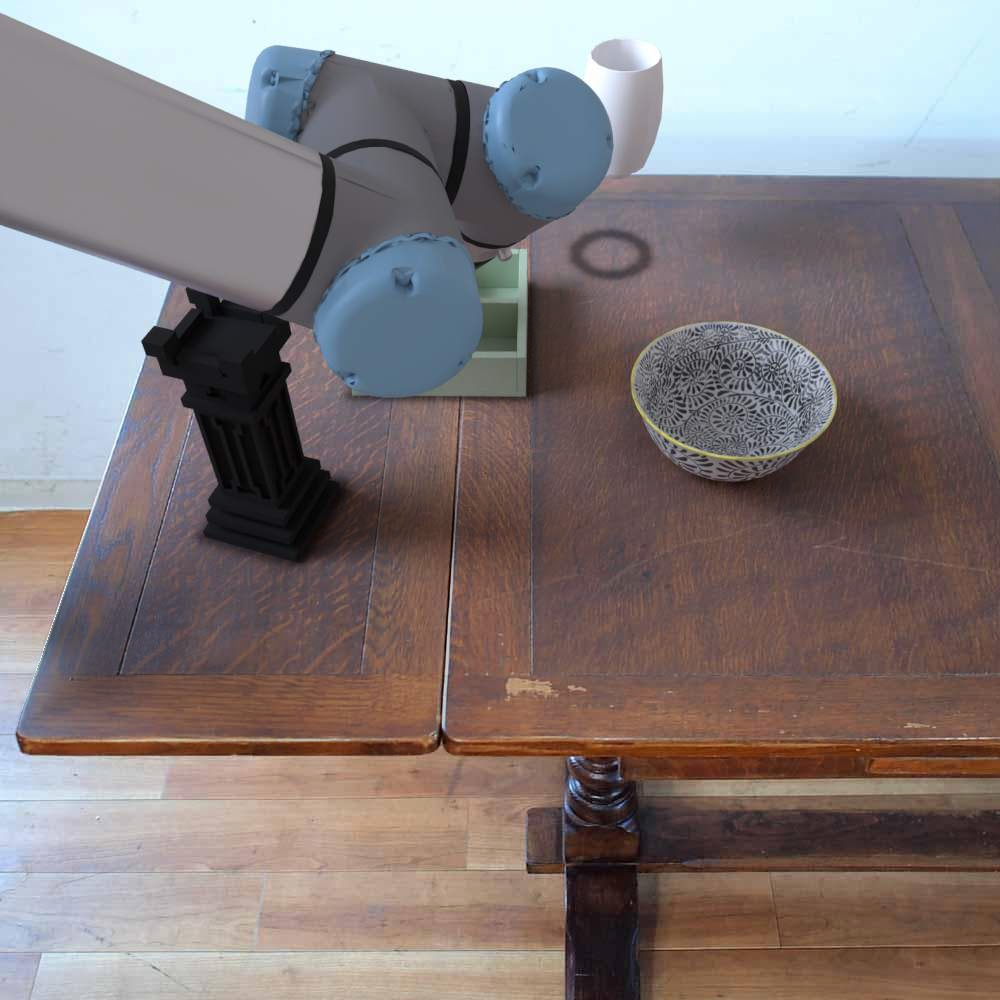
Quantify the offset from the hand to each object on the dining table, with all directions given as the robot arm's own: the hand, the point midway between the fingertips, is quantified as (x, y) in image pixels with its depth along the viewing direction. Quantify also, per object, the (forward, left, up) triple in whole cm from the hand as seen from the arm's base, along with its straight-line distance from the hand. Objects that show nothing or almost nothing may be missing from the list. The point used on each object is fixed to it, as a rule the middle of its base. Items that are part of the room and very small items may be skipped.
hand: (374, 282), depth 91 cm
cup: (+22, +14, -7) cm, 27 cm away
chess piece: (-7, -21, -7) cm, 23 cm away
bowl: (+30, -13, -7) cm, 33 cm away
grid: (+6, +1, -7) cm, 9 cm away
